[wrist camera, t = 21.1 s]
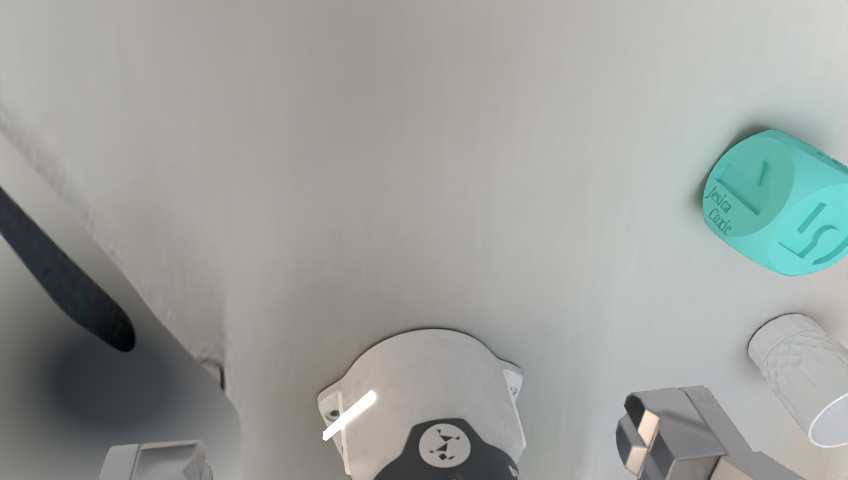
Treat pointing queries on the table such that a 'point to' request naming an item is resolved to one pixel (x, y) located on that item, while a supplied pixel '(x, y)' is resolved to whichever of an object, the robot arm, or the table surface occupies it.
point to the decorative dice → (780, 203)
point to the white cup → (806, 375)
